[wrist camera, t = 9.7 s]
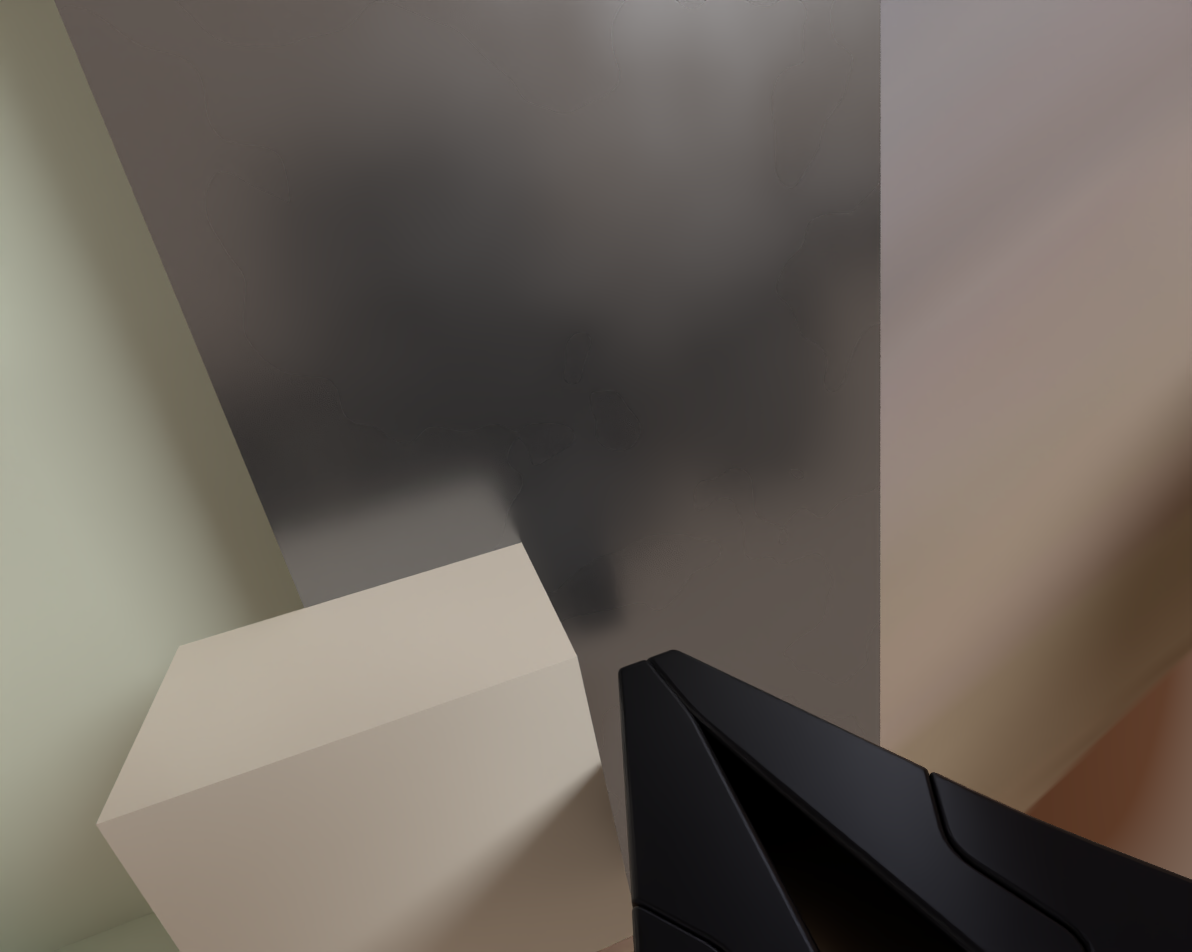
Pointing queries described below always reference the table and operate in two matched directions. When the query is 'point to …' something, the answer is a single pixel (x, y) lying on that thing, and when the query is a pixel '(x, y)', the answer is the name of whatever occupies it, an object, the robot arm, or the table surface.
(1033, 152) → the table surface
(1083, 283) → the table surface
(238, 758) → the tile
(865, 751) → the robot arm
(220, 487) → the box
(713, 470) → the plate
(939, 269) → the table surface
